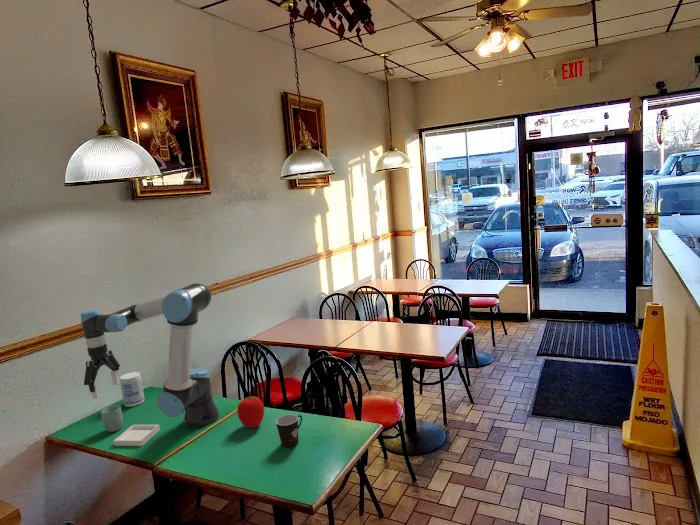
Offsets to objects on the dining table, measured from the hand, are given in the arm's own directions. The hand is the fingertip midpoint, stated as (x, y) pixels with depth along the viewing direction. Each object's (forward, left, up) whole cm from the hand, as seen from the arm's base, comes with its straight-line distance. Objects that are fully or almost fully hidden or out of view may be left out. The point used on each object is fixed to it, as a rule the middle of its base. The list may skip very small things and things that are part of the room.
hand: (106, 391), depth 211 cm
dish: (-16, +6, -18) cm, 25 cm away
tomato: (-65, -3, -19) cm, 68 cm away
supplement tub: (+8, -26, -19) cm, 33 cm away
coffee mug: (-87, +10, -19) cm, 90 cm away
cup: (0, 0, -19) cm, 19 cm away
